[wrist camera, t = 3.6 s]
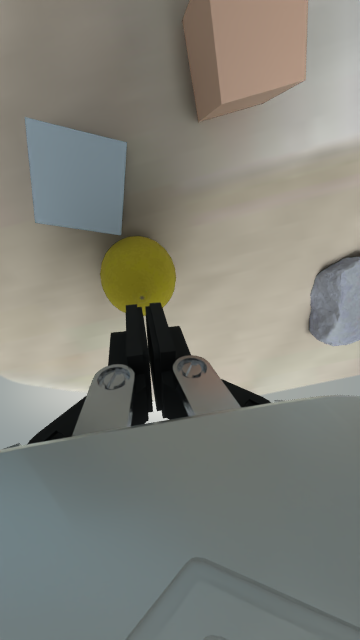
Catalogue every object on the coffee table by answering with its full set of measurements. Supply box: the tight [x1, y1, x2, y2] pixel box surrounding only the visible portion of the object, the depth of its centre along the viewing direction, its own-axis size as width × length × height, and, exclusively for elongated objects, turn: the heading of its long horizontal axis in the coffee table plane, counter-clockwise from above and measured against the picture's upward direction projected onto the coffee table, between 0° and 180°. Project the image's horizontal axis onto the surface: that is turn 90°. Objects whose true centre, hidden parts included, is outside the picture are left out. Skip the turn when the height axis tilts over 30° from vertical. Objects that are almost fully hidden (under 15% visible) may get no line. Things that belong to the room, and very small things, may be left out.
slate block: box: [25, 117, 127, 235], centre depth 16 cm, size 5×5×5 cm
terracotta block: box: [182, 0, 308, 122], centre depth 14 cm, size 5×5×5 cm
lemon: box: [100, 236, 176, 316], centre depth 18 cm, size 6×6×8 cm
